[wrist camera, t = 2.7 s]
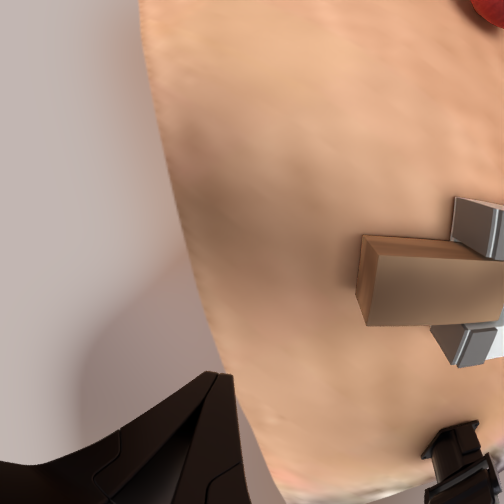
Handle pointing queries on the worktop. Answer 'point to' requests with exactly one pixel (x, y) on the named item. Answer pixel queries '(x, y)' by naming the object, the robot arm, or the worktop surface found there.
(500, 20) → the onion
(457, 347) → the sleeve
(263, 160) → the worktop surface
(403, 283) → the peg
